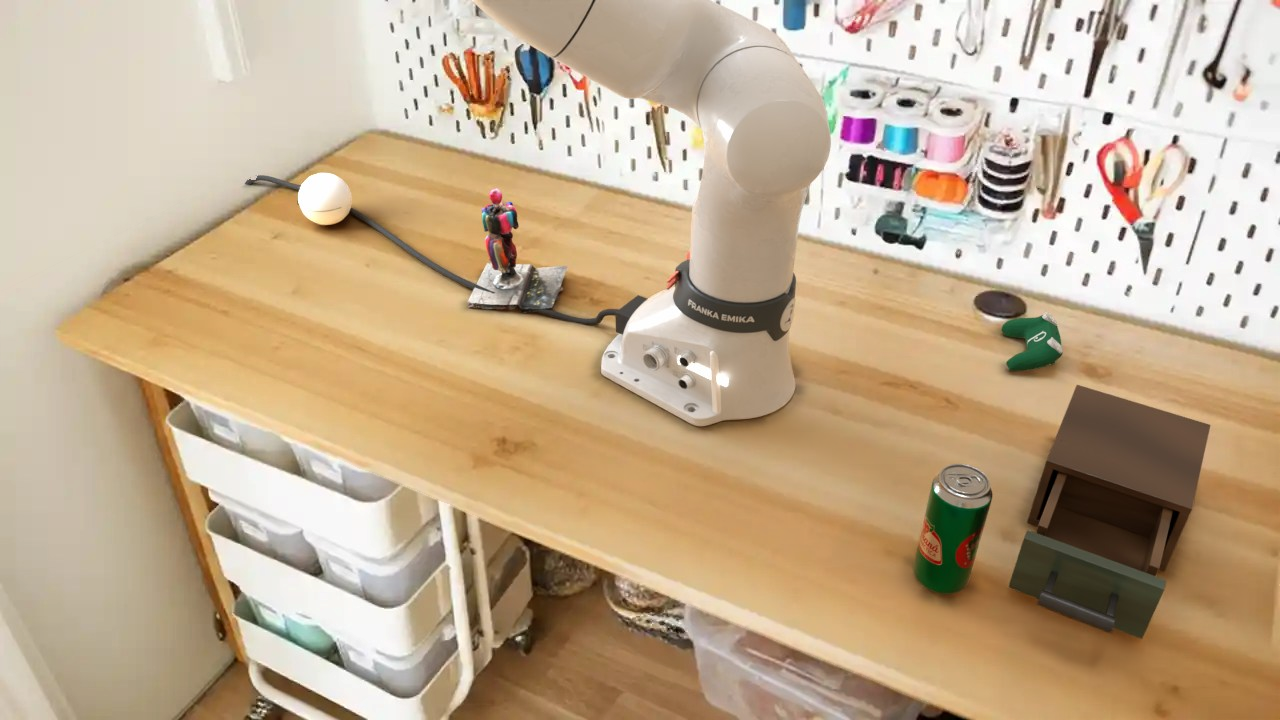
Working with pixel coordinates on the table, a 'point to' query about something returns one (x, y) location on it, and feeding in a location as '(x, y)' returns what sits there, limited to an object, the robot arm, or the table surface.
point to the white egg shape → (325, 198)
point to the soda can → (952, 528)
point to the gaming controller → (1034, 342)
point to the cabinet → (1128, 455)
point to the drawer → (1095, 556)
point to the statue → (511, 266)
